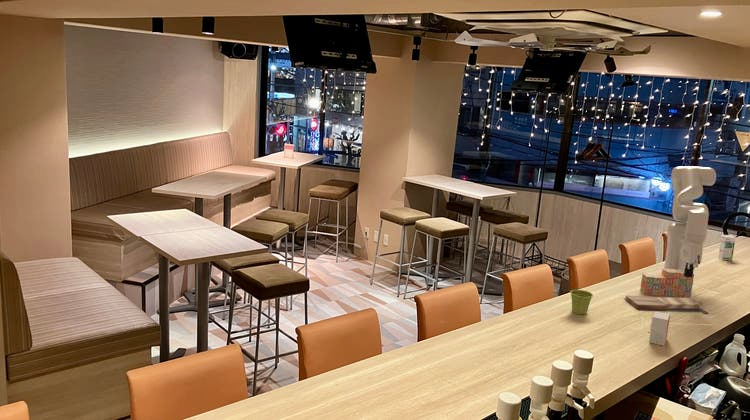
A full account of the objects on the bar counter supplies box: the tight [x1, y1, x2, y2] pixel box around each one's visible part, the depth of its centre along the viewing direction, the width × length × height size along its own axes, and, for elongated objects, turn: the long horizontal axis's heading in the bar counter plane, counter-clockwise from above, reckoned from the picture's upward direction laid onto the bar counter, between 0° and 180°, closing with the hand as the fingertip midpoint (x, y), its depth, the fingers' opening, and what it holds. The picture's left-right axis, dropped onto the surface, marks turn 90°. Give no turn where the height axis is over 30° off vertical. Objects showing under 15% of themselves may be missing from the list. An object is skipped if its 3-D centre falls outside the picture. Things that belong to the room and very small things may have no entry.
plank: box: [655, 296, 702, 309], centre depth 268 cm, size 16×9×2 cm, turn 91°
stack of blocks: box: [639, 268, 695, 298], centre depth 284 cm, size 21×6×12 cm, turn 85°
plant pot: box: [569, 289, 594, 315], centre depth 255 cm, size 9×9×9 cm
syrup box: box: [718, 234, 736, 261], centre depth 355 cm, size 6×6×14 cm
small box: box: [648, 311, 671, 347], centre depth 227 cm, size 8×6×10 cm
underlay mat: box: [623, 297, 709, 315], centre depth 268 cm, size 16×31×1 cm, turn 91°
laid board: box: [624, 295, 667, 310], centre depth 267 cm, size 12×13×2 cm
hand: (688, 276), depth 267 cm, fingers closed
